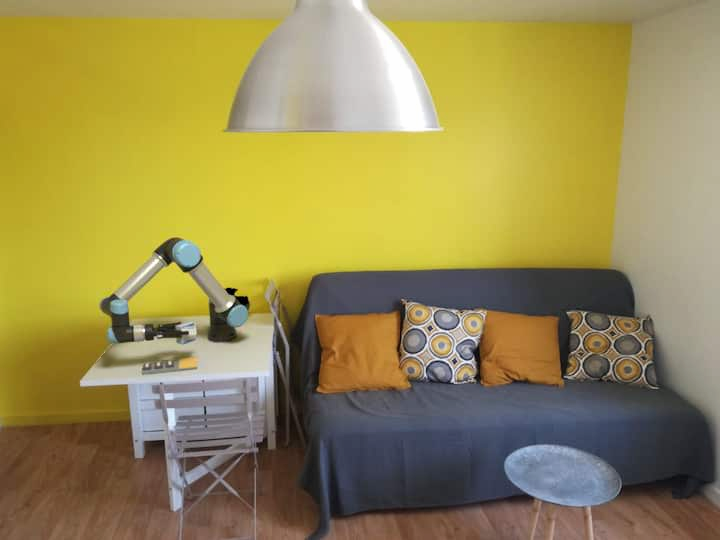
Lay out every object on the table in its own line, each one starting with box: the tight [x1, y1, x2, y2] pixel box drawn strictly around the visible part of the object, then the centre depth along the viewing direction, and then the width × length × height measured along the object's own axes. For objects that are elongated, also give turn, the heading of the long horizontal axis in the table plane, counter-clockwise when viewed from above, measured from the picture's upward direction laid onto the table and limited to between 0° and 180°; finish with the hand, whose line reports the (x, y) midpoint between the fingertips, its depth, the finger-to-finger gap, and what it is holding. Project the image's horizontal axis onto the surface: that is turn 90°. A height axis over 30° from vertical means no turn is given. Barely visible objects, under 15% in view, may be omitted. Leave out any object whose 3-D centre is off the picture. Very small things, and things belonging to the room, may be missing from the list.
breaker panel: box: [141, 356, 198, 376], centre depth 285 cm, size 24×13×3 cm, turn 106°
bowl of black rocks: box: [223, 286, 251, 312], centre depth 350 cm, size 20×20×19 cm
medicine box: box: [175, 321, 197, 345], centre depth 284 cm, size 8×4×9 cm, turn 146°
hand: (196, 328), depth 285 cm, fingers closed on medicine box, 8 cm apart
